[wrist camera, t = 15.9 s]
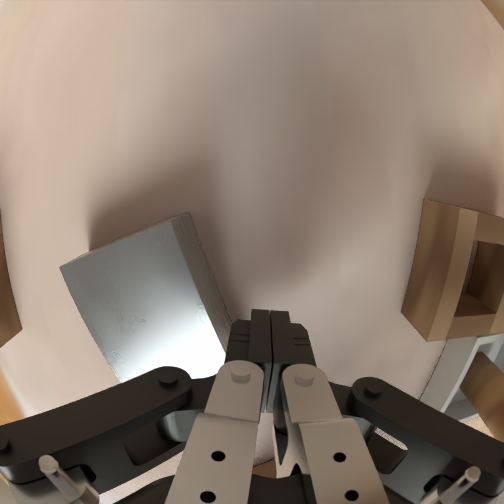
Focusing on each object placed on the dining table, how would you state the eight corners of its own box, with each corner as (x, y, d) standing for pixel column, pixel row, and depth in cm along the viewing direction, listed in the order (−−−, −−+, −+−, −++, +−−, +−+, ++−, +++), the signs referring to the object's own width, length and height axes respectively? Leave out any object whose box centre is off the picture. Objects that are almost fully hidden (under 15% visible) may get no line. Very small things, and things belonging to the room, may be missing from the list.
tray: (473, 395, 15) (486, 413, 13) (413, 411, 15) (425, 433, 13) (512, 312, 13) (532, 327, 11) (455, 317, 13) (477, 337, 11)
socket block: (473, 309, 13) (500, 332, 10) (400, 312, 13) (426, 341, 10) (495, 215, 11) (529, 226, 9) (423, 199, 12) (460, 207, 9)
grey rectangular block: (240, 339, 14) (236, 376, 11) (145, 359, 15) (126, 391, 12) (190, 210, 12) (170, 221, 10) (91, 249, 13) (59, 267, 10)
